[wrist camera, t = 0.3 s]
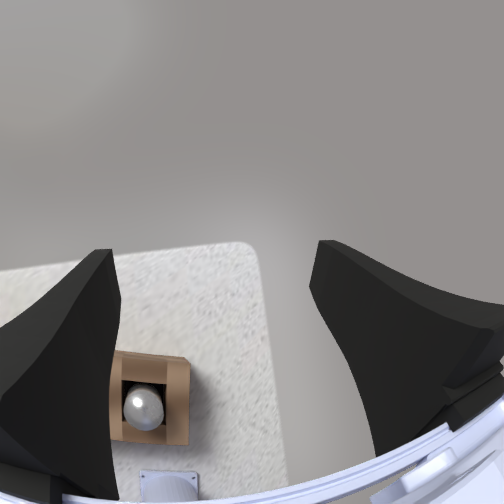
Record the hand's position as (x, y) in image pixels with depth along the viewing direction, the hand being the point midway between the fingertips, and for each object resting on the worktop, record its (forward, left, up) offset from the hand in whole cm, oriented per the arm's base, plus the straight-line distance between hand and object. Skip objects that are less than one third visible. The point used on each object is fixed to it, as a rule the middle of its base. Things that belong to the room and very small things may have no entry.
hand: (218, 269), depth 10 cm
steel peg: (-11, +2, -25) cm, 28 cm away
